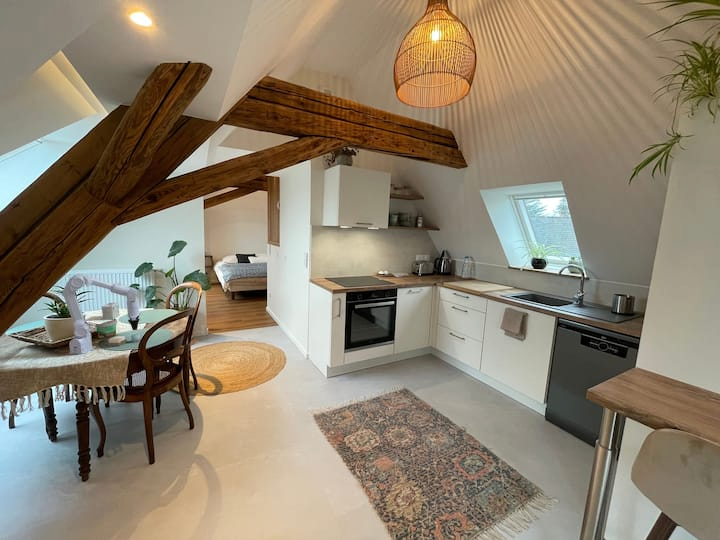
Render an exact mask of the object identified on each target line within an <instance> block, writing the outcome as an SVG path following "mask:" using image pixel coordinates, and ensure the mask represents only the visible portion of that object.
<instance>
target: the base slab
mask: <svg viewBox="0 0 720 540" xmlns="http://www.w3.org/2000/svg"><path fill="white" fill-rule="evenodd" d="M126 343H127V338H125V340H123V341H121V342H119V343H109V342H107V347H121V346H122V344H123V345H124V344H126ZM120 345H121V346H120Z"/></svg>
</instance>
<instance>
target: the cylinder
mask: <svg viewBox="0 0 720 540" xmlns="http://www.w3.org/2000/svg"><path fill="white" fill-rule="evenodd" d="M130 339H131V343H132V342H133V343H132V344H134V343H140V342H141V334H140V333H136V334H131V338H130ZM139 341H140V342H139Z"/></svg>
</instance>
